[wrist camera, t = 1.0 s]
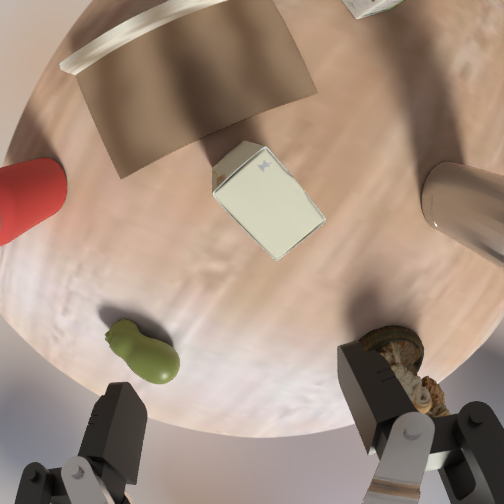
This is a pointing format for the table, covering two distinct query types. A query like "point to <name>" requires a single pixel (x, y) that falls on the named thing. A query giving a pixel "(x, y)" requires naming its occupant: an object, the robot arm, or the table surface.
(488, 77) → the table surface
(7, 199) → the beer can
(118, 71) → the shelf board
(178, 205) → the table surface
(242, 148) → the skincare box
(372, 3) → the syrup box
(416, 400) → the brown lumpy upright piece
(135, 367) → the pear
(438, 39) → the table surface
